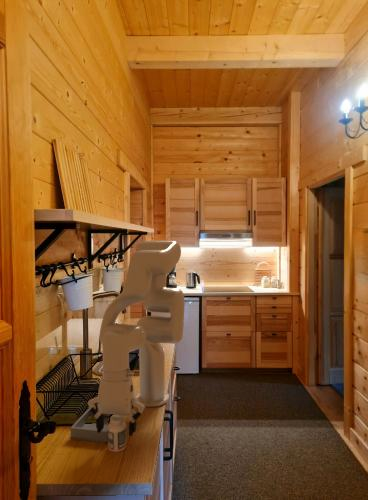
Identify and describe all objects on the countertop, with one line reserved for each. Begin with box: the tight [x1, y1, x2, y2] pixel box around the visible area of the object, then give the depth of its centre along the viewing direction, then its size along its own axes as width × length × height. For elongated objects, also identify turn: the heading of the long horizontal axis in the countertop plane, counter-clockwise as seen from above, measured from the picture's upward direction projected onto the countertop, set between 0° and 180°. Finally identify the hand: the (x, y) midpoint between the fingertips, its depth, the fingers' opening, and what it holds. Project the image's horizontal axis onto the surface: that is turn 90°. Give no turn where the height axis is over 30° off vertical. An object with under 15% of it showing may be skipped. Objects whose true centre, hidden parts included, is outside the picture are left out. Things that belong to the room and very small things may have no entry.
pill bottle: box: [107, 415, 127, 453], centre depth 101 cm, size 5×5×9 cm
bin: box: [70, 407, 111, 444], centre depth 109 cm, size 12×12×4 cm
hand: (116, 432), depth 100 cm, fingers open, 9 cm apart
